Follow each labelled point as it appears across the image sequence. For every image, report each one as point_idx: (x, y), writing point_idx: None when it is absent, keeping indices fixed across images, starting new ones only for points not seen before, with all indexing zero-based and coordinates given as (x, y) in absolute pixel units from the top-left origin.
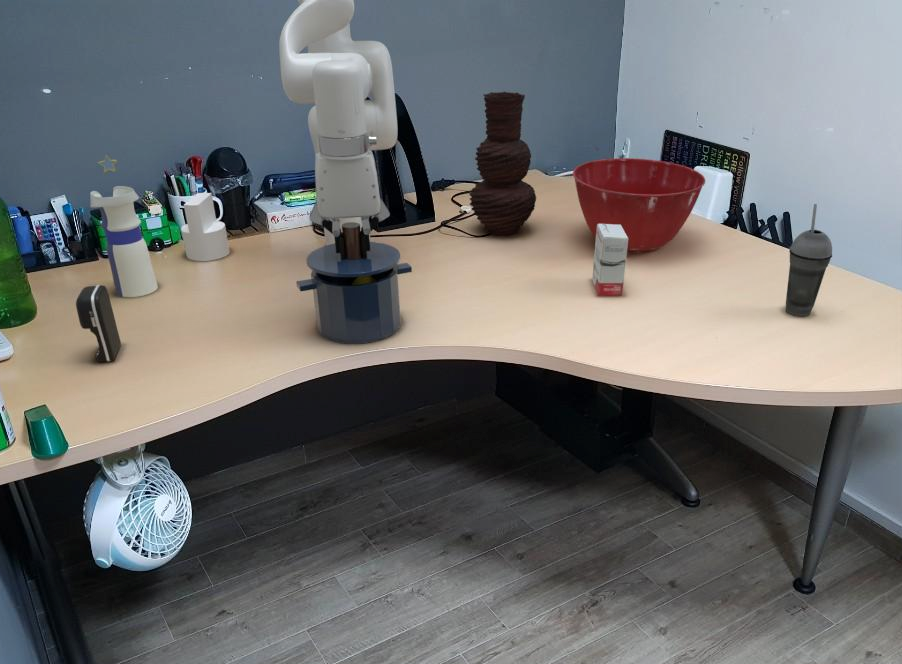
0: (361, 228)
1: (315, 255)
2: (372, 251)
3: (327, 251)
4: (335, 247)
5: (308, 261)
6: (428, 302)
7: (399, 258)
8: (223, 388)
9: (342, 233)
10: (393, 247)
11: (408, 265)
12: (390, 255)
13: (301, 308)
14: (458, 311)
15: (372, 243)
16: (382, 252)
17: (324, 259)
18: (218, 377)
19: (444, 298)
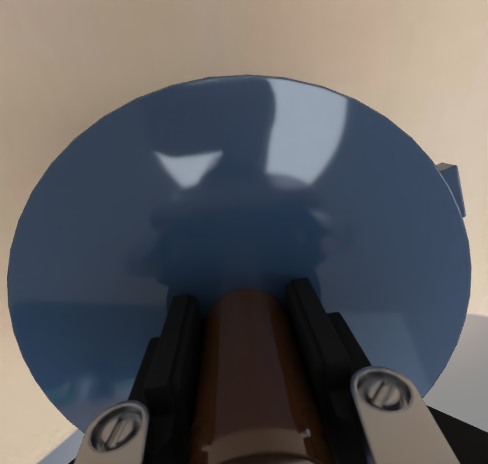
0: (341, 434)
1: (49, 309)
2: (339, 265)
3: (97, 256)
4: (128, 192)
5: (40, 376)
6: (420, 76)
7: (454, 348)
8: (31, 437)
9: (185, 416)
10: (456, 209)
11: (457, 200)
12: (421, 317)
13: (58, 95)
14: (483, 146)
15: (346, 134)
16: (388, 280)
17: (111, 357)
18: (5, 408)
19: (471, 47)
